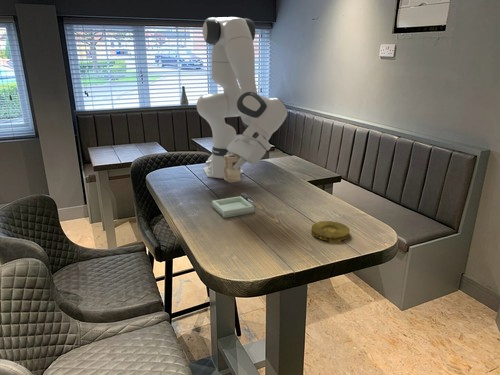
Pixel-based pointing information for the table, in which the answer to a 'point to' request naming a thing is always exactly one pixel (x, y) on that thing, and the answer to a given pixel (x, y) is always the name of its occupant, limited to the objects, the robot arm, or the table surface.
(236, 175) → the bored block
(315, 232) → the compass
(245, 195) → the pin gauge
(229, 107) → the robot arm
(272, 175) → the table surface
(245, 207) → the tray
